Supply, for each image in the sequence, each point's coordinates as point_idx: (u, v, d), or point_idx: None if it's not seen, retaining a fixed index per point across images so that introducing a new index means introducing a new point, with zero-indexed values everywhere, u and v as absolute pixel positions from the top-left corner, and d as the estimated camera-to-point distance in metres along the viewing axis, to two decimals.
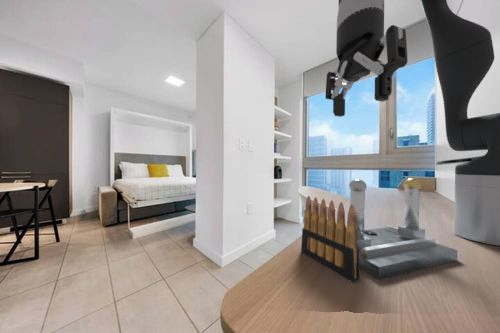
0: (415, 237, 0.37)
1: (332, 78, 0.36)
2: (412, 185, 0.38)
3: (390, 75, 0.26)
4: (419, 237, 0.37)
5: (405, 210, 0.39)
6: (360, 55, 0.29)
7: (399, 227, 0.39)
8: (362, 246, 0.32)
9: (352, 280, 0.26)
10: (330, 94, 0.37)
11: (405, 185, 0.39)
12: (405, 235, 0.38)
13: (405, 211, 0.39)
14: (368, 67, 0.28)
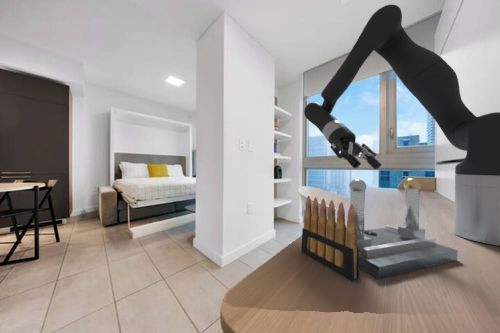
0: (415, 237, 0.37)
1: (361, 151, 0.57)
2: (412, 185, 0.38)
3: (348, 156, 0.49)
4: (419, 237, 0.37)
5: (405, 210, 0.39)
6: None
7: (399, 227, 0.39)
8: (362, 246, 0.32)
9: (352, 280, 0.26)
10: None
11: (405, 185, 0.39)
12: (405, 235, 0.38)
13: (405, 211, 0.39)
14: None
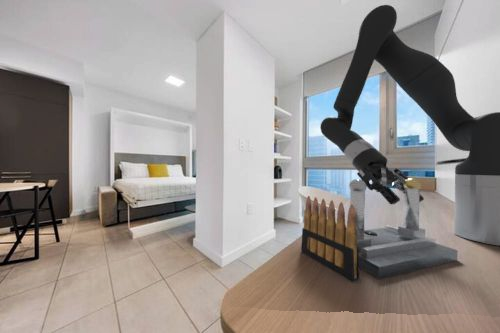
0: (415, 237, 0.37)
1: None
2: (412, 185, 0.38)
3: (382, 189, 0.40)
4: (419, 237, 0.37)
5: (405, 210, 0.39)
6: None
7: (399, 227, 0.39)
8: (362, 246, 0.32)
9: (352, 280, 0.26)
10: (403, 187, 0.45)
11: (405, 185, 0.39)
12: (405, 235, 0.38)
13: (405, 211, 0.39)
14: None
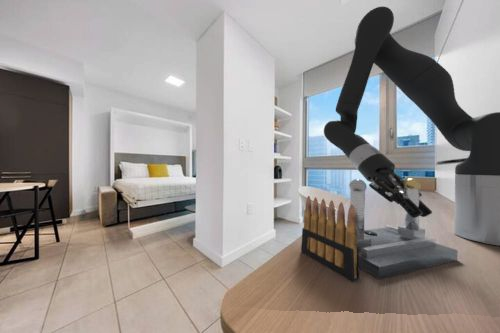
0: (415, 237, 0.37)
1: (402, 187, 0.45)
2: (412, 185, 0.38)
3: (403, 201, 0.38)
4: (419, 237, 0.37)
5: (405, 210, 0.39)
6: None
7: (399, 227, 0.39)
8: (362, 246, 0.32)
9: (352, 280, 0.26)
10: None
11: (405, 185, 0.39)
12: (405, 235, 0.38)
13: (405, 211, 0.39)
14: None
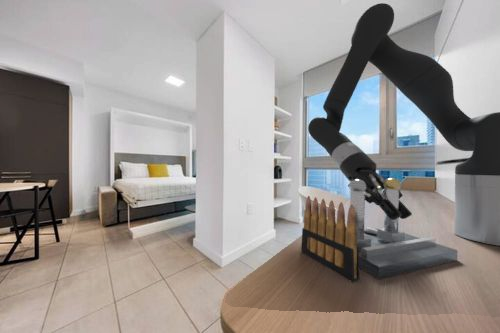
0: (394, 240, 0.35)
1: None
2: (391, 185, 0.36)
3: (382, 202, 0.36)
4: (398, 240, 0.35)
5: (384, 212, 0.37)
6: None
7: (378, 230, 0.37)
8: (362, 246, 0.32)
9: (352, 280, 0.26)
10: None
11: (384, 185, 0.37)
12: (384, 238, 0.36)
13: (384, 213, 0.37)
14: None
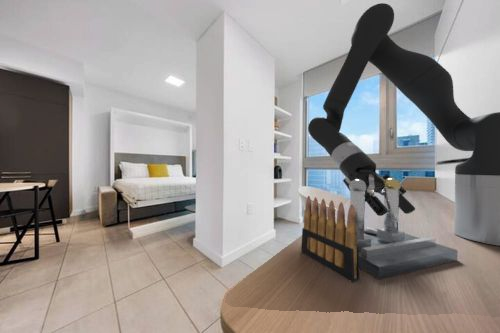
0: (393, 240, 0.35)
1: None
2: (391, 185, 0.36)
3: (369, 198, 0.36)
4: (398, 240, 0.35)
5: None
6: None
7: (378, 230, 0.37)
8: (362, 246, 0.32)
9: (352, 280, 0.26)
10: None
11: (384, 185, 0.37)
12: (383, 238, 0.36)
13: None
14: None
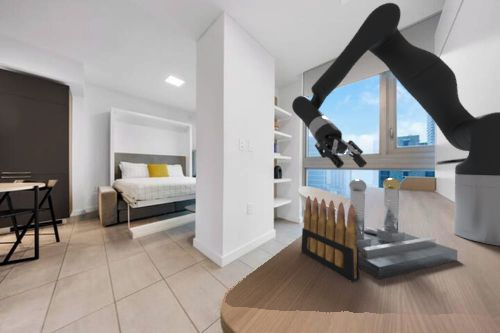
0: (393, 240, 0.35)
1: (347, 148, 0.55)
2: (391, 185, 0.36)
3: (331, 156, 0.48)
4: (398, 240, 0.35)
5: (384, 212, 0.37)
6: None
7: (378, 230, 0.37)
8: (362, 246, 0.32)
9: (352, 280, 0.26)
10: None
11: (384, 185, 0.37)
12: (383, 238, 0.36)
13: (384, 213, 0.37)
14: None
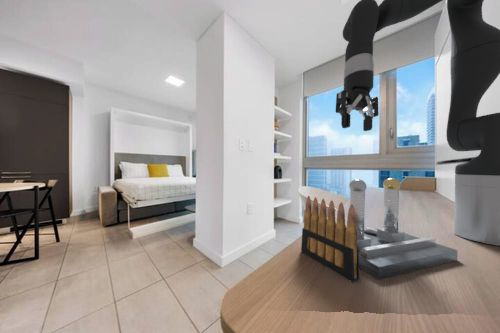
0: (393, 240, 0.35)
1: None
2: (391, 185, 0.36)
3: (344, 114, 0.48)
4: (398, 240, 0.35)
5: (384, 212, 0.37)
6: (346, 102, 0.51)
7: (378, 230, 0.37)
8: (362, 246, 0.32)
9: (352, 280, 0.26)
10: (368, 115, 0.52)
11: (384, 185, 0.37)
12: (383, 238, 0.36)
13: (384, 213, 0.37)
14: None
